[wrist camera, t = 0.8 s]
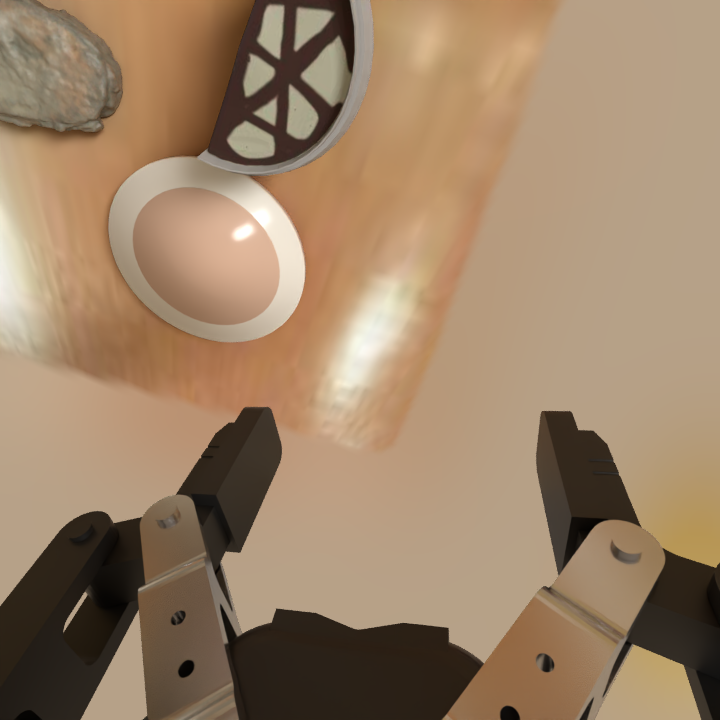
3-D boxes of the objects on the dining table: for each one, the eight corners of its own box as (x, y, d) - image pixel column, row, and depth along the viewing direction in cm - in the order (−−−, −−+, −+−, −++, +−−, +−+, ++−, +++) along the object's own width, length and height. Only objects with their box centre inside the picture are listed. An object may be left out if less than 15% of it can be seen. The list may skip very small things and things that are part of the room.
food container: (327, 175, 33) (298, 227, 25) (250, 127, 32) (193, 167, 24) (425, -17, 26) (426, -26, 18) (330, -90, 24) (287, -134, 17)
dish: (132, 315, 43) (124, 324, 41) (100, 132, 33) (88, 137, 32) (299, 348, 43) (295, 358, 42) (317, 177, 33) (313, 184, 32)
